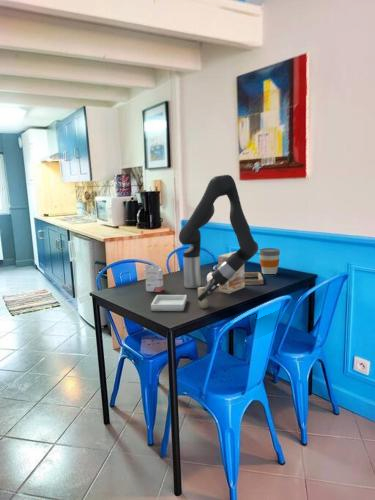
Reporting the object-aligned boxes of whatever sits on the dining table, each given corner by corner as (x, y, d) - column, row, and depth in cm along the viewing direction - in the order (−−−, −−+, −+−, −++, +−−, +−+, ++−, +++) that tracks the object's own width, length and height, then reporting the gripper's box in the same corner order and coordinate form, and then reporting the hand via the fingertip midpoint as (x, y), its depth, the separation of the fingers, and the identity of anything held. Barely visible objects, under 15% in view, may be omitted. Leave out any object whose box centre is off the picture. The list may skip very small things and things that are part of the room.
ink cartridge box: (163, 289, 206) (162, 263, 204) (160, 292, 201) (158, 265, 199) (149, 288, 209) (148, 263, 206) (145, 291, 204) (144, 265, 202)
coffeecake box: (229, 293, 194) (228, 257, 191) (218, 291, 199) (217, 255, 196) (245, 287, 205) (245, 252, 202) (234, 285, 210) (234, 251, 206)
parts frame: (228, 276, 230) (228, 272, 230) (260, 276, 228) (260, 272, 228) (228, 284, 211) (228, 280, 211) (263, 284, 209) (263, 280, 209)
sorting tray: (156, 300, 187) (156, 295, 186) (186, 300, 185) (186, 294, 185) (151, 310, 172) (150, 304, 171) (183, 310, 170) (183, 304, 170)
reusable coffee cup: (255, 272, 238) (255, 249, 235) (271, 270, 243) (271, 247, 240) (267, 276, 226) (267, 252, 224) (284, 274, 232) (284, 250, 229)
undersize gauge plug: (198, 305, 177) (198, 287, 176) (207, 305, 177) (207, 286, 175) (197, 308, 173) (197, 289, 171) (207, 308, 172) (206, 289, 171)
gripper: (218, 264, 178) (195, 287, 181) (217, 271, 164) (192, 296, 167) (229, 274, 178) (206, 298, 181) (230, 282, 164) (204, 307, 167)
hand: (199, 297), depth 174 cm, fingers open, 8 cm apart
